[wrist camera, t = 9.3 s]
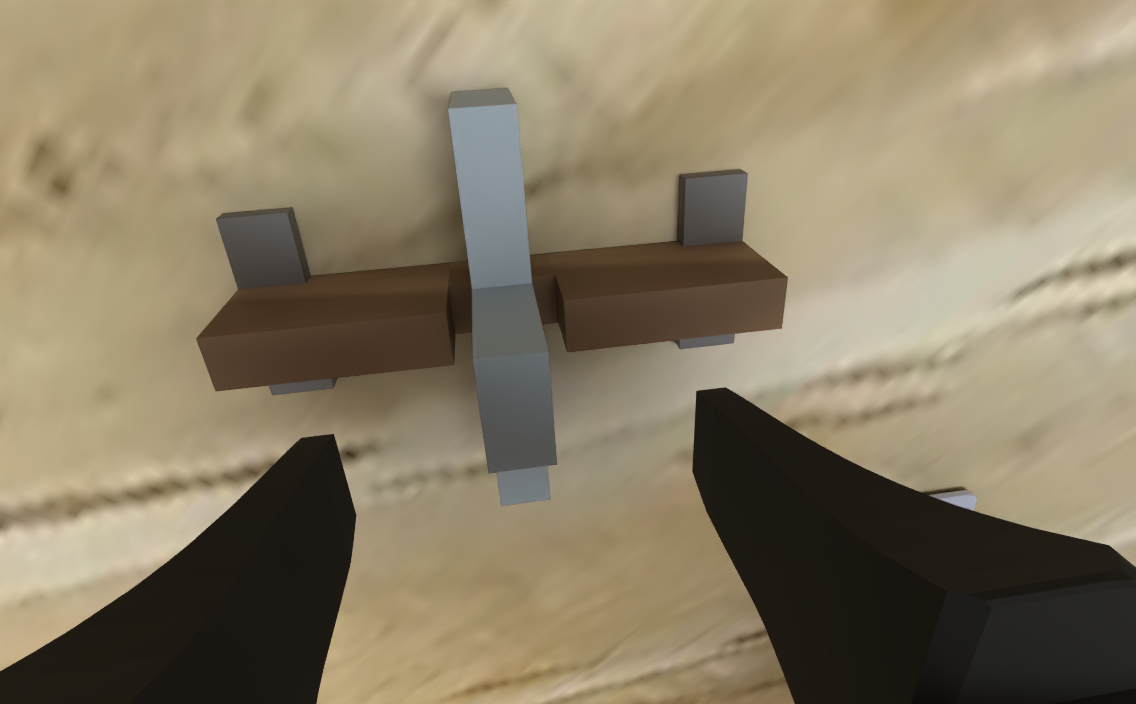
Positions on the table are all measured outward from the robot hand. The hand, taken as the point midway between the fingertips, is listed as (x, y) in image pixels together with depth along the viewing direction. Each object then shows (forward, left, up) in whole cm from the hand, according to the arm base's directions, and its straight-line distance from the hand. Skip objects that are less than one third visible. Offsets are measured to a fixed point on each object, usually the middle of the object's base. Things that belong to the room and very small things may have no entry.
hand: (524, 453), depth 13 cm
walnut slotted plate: (0, 0, -10) cm, 10 cm away
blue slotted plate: (0, 0, -10) cm, 10 cm away
